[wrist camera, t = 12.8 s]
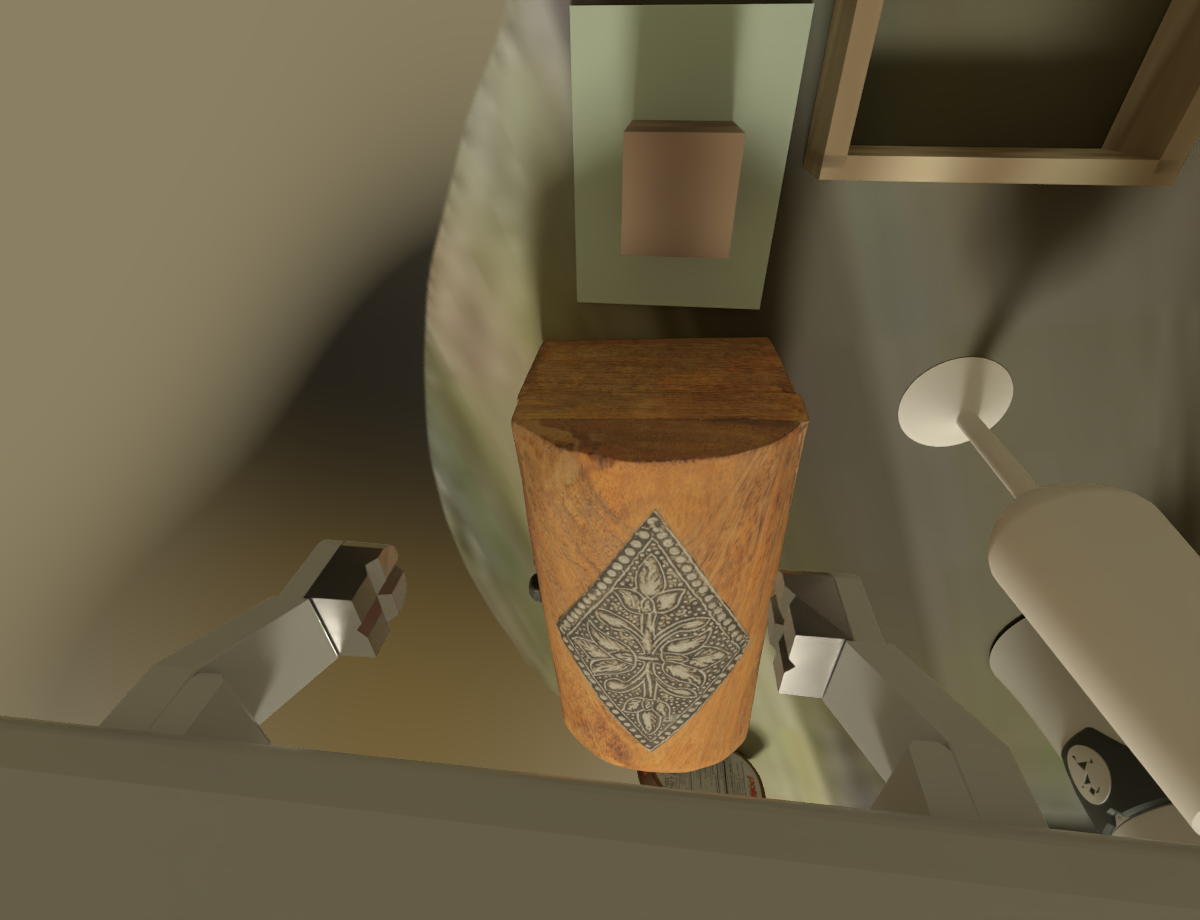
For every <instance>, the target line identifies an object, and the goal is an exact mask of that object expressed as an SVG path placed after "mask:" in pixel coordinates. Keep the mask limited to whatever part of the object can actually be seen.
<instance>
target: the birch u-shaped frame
mask: <svg viewBox="0 0 1200 920" xmlns="http://www.w3.org/2000/svg"><path fill="white" fill-rule="evenodd" d="M883 2H884V0H835V4H834V9H833V14H832V19H831V24H830V30H829V35H828V40H827V45H826V50H825V55H824V60H823V65H822V70H821V75H820V80H819V86H818V91H817V96H816V101H815V106H814V111H813V116H812V121H811V126H810V131H809V136H808V142H807V147H806V152H805V157H804V162H803V167H804V168H805V169H806V170H807V171H809V172H810V173H811V174H812V175H814V176H815V177H816V178H817V179H819V180H860V181H912V182H964V183H1016V184H1068V185H1120V186H1171V185H1172V183H1173V182H1174V180H1175V178H1176V176H1177V175H1178V173H1179V171H1180V169H1181V168H1182V166H1183V164H1184V162H1185V160H1186V159H1187V157H1188V155H1189V153H1190V152H1191V150H1192V148H1193V146H1194V144H1195V143H1196V141H1197V139H1198V137H1199V136H1200V0H1172V1H1171V3H1170V5H1169V7H1168V9H1167V11H1166V13H1165V16H1164V18H1163V20H1162V22H1161V24H1160V26H1159V28H1158V30H1157V32H1156V34H1155V37H1154V39H1153V41H1152V43H1151V45H1150V47H1149V49H1148V51H1147V53H1146V55H1145V58H1144V60H1143V62H1142V64H1141V66H1140V68H1139V70H1138V72H1137V74H1136V76H1135V79H1134V81H1133V83H1132V85H1131V87H1130V89H1129V91H1128V93H1127V95H1126V97H1125V100H1124V102H1123V104H1122V106H1121V108H1120V110H1119V112H1118V114H1117V116H1116V118H1115V121H1114V123H1113V125H1112V127H1111V129H1110V131H1109V133H1108V135H1107V137H1106V139H1105V141H1104V144H1103V146H1102V148H1101V149H1086V148H1013V147H940V146H867V145H850V141H851V137H852V133H853V129H854V124H855V120H856V116H857V112H858V108H859V103H860V99H861V95H862V91H863V87H864V82H865V78H866V74H867V70H868V65H869V61H870V57H871V53H872V49H873V44H874V40H875V36H876V32H877V27H878V23H879V19H880V15H881V11H882V6H883Z"/></svg>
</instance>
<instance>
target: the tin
mask: <svg viewBox="0 0 1200 920" xmlns="http://www.w3.org/2000/svg"><path fill="white" fill-rule="evenodd" d="M637 773H638V778H639V781H640V784H641V785H648V786H657V787H666V788H675V789H684V790H694V791H703V792H712V793H721V794H731V795H740V796H749V797H758V798H766V796H765V791H764V787H763V784H762V781H761V778H760V776H759V774H758V772H757V771H756V769H755V768H754V767H753V765H752V764H751V763H750V762H749V761H748V760H747V759H746V758H745V757H744V756H742V755H741V754H740V753H738V752H736V751H734V752H733V753H732V754H730V755H729V756H728V757H727V758H725V759H724V760H723V761H721V762H719V763H717V764H714V765H711V766H708V767H704V768H701V769H698V770H694V771H690V772H683V773H682V772H680V773H660V772H647V771H639V770H637Z"/></svg>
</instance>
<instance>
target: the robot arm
mask: <svg viewBox="0 0 1200 920" xmlns="http://www.w3.org/2000/svg"><path fill="white" fill-rule="evenodd" d="M398 558H399V557H398V554H397V552H396V549H395V547H394V546H391V545H385V544H374V543H363V542H352V541H337V540H324V541H322V542H320V543H319V544H318V545H317V546H316V547H315V549H314V550H313V551H312V553H311V554H310V555H309V557H308V558H307V559H306V561H305V562H304V563H303V565H302V566H301V567H300V568H299V570H298V571H297V573H296V574H295V575H294V576H293V578H292V579H291V580H290V582H289V583H288V584H287V586H286V587H285V588H284V589H283V591H282V592H281V593H280V595H279V596H271V597H269V598H268V599H266V600H264V601H262V602H261V603H259V604H257V605H255V606H254V607H252V608H250V609H249V610H247V611H245V612H243V613H242V614H240V615H238V616H237V617H235V618H233V619H231V620H230V621H228V622H226V623H225V624H223V625H221V626H219V627H218V628H216V629H214V630H212V631H211V632H209V633H207V634H206V635H204V636H202V637H200V638H199V639H197V640H195V641H193V642H192V643H190V644H188V645H187V646H185V647H183V648H181V649H180V650H178V651H176V652H175V653H173V654H171V655H169V656H168V657H166V658H164V659H163V660H161V661H159V662H157V663H156V664H154V665H152V666H151V668H150V669H149V670H148V671H147V672H146V673H145V674H144V675H143V676H142V678H141V679H140V680H139V681H138V682H137V683H136V684H135V686H134V687H133V688H132V689H131V690H130V691H129V692H128V693H127V695H126V696H125V697H124V698H123V699H122V700H121V701H120V703H119V704H118V705H117V706H116V707H115V708H114V709H113V711H112V712H111V713H110V714H109V715H108V716H107V717H106V719H105V720H104V721H103V722H102V723H101V724H100V725H99V726H92V725H83V724H73V723H65V722H55V721H46V720H37V719H28V718H18V717H10V716H0V920H1200V835H1198V834H1197V833H1196V832H1195V831H1194V830H1193V828H1192V827H1191V826H1190V825H1189V823H1188V822H1187V821H1186V819H1185V818H1184V817H1183V816H1182V814H1181V813H1180V812H1179V811H1178V809H1177V808H1176V807H1175V806H1174V804H1173V803H1172V802H1171V801H1170V799H1169V798H1168V797H1167V795H1166V794H1165V793H1164V792H1163V790H1162V789H1161V788H1160V787H1159V785H1158V784H1157V783H1156V782H1155V780H1154V779H1153V778H1152V776H1151V775H1150V774H1149V773H1148V771H1147V770H1146V769H1145V768H1144V766H1143V765H1142V764H1141V763H1140V761H1139V760H1138V759H1137V758H1136V756H1135V755H1134V754H1133V752H1132V751H1131V750H1130V749H1129V747H1128V746H1127V745H1126V744H1125V742H1124V741H1123V740H1122V739H1121V737H1120V736H1119V735H1118V734H1117V732H1116V731H1115V730H1114V728H1113V727H1112V726H1111V725H1110V723H1109V722H1108V721H1107V720H1106V718H1105V717H1104V716H1103V715H1102V713H1101V712H1100V711H1099V710H1098V708H1097V707H1096V706H1095V704H1094V703H1093V702H1092V701H1091V699H1090V698H1089V697H1088V696H1087V694H1086V693H1085V692H1084V691H1083V689H1082V688H1081V687H1080V685H1079V684H1078V683H1077V682H1076V680H1075V679H1074V678H1073V677H1072V675H1071V674H1070V673H1069V672H1068V670H1067V669H1066V668H1065V667H1064V665H1063V664H1062V663H1061V661H1060V660H1059V659H1058V658H1057V656H1056V655H1055V654H1054V653H1053V651H1052V650H1051V649H1050V648H1049V646H1048V645H1047V644H1046V643H1045V641H1044V640H1043V639H1042V637H1041V636H1040V635H1039V634H1038V632H1037V631H1036V630H1035V629H1034V627H1033V626H1032V625H1031V624H1030V622H1029V621H1028V620H1027V619H1026V618H1024V619H1022V620H1021V621H1019V622H1018V623H1016V624H1015V625H1013V626H1012V627H1011V628H1009V629H1008V630H1007V631H1006V632H1005V633H1004V634H1003V635H1002V636H1001V637H1000V638H999V639H998V641H997V642H996V643H995V645H994V647H993V649H992V651H991V654H990V667H991V670H992V672H993V673H994V675H995V676H996V677H997V678H998V679H999V680H1000V681H1001V682H1002V683H1003V684H1004V685H1005V686H1006V688H1007V689H1008V690H1009V691H1010V692H1011V693H1012V694H1013V695H1014V697H1015V698H1016V699H1017V700H1018V701H1019V702H1020V704H1021V705H1022V706H1023V707H1024V709H1025V710H1026V711H1027V712H1028V714H1029V715H1030V716H1031V718H1032V719H1033V720H1034V722H1035V723H1036V724H1037V726H1038V727H1039V728H1040V730H1041V731H1042V732H1043V734H1044V735H1045V737H1046V738H1047V739H1048V741H1049V742H1050V744H1051V745H1052V746H1053V748H1054V749H1055V751H1056V752H1057V754H1058V755H1059V756H1060V758H1061V759H1062V761H1063V762H1064V765H1065V768H1066V771H1067V773H1068V776H1069V778H1070V780H1071V783H1072V785H1073V787H1074V790H1075V792H1076V794H1077V796H1078V798H1079V800H1080V801H1081V803H1082V805H1083V807H1084V809H1085V810H1086V812H1087V814H1088V816H1089V817H1090V819H1091V821H1092V822H1093V824H1094V826H1095V827H1096V829H1097V831H1098V832H1099V834H1093V833H1083V832H1074V831H1065V830H1056V829H1049V828H1048V826H1047V823H1046V821H1045V819H1044V817H1043V815H1042V813H1041V811H1040V809H1039V807H1038V805H1037V803H1036V801H1035V799H1034V797H1033V795H1032V793H1031V791H1030V789H1029V787H1028V785H1027V783H1026V781H1025V779H1024V777H1023V775H1022V773H1021V771H1020V769H1019V767H1018V765H1017V763H1016V761H1015V759H1014V757H1013V755H1012V753H1011V751H1010V749H1009V747H1008V746H1007V745H1006V744H1005V743H1003V742H1002V741H1001V740H1000V739H999V738H998V737H997V736H996V735H994V734H993V733H992V732H991V731H990V730H989V729H988V728H987V727H985V726H984V725H983V724H982V723H981V722H980V721H979V720H978V719H976V718H975V717H974V716H973V715H972V714H971V713H970V712H969V711H967V710H966V709H965V708H964V707H963V706H962V705H961V704H960V703H958V702H957V701H956V700H955V699H954V698H953V697H952V696H951V695H949V694H948V693H947V692H946V691H945V690H944V689H943V688H942V687H940V686H939V685H938V684H937V683H936V682H935V681H934V680H933V679H931V678H930V677H929V676H928V675H927V674H926V673H925V672H924V671H922V670H921V669H920V668H919V667H918V666H917V665H916V664H914V663H913V662H912V661H911V660H910V659H909V658H908V657H907V656H905V655H904V654H903V653H902V652H901V651H900V650H899V649H898V648H896V647H895V646H894V645H893V644H885V643H884V640H883V637H882V635H881V632H880V629H879V627H878V624H877V621H876V619H875V616H874V613H873V611H872V608H871V605H870V603H869V600H868V597H867V595H866V592H865V589H864V587H863V584H862V581H861V579H860V578H859V577H858V576H857V575H856V574H840V573H830V574H829V573H824V572H806V571H788V570H779V571H778V572H777V574H776V577H775V581H774V585H775V591H776V594H775V595H773V596H772V597H771V598H770V602H769V607H768V620H767V623H768V634H769V641H770V644H771V645H772V646H773V647H774V648H775V649H776V654H775V658H774V661H773V665H774V671H775V676H776V682H777V688H778V693H782V694H791V695H800V696H808V697H817V698H823V701H824V703H825V704H826V705H827V707H828V708H829V709H830V710H831V712H832V713H833V714H834V716H835V717H836V718H837V720H838V721H839V722H840V723H841V725H842V726H843V727H844V729H845V730H846V731H847V733H848V734H849V735H850V736H851V738H852V739H853V740H854V742H855V743H856V744H857V746H858V747H859V748H860V749H861V751H862V752H863V753H864V755H865V756H866V757H867V759H868V760H869V761H870V762H871V764H872V765H873V766H874V768H875V769H876V770H877V772H878V773H879V774H880V775H881V777H882V778H883V779H884V781H885V782H886V784H885V785H884V787H883V789H882V790H881V792H880V793H879V795H878V797H877V798H876V800H875V801H874V803H873V805H872V806H871V808H870V809H861V808H851V807H842V806H833V805H823V804H814V803H805V802H796V801H786V800H777V799H768V798H758V797H749V796H740V795H731V794H721V793H712V792H703V791H694V790H684V789H675V788H666V787H657V786H648V785H637V784H629V783H619V782H610V781H602V780H591V779H583V778H574V777H565V776H564V777H563V776H556V775H546V774H537V773H528V772H518V771H508V770H500V769H490V768H481V767H471V766H462V765H452V764H443V763H433V762H425V761H415V760H406V759H397V758H388V757H379V756H369V755H360V754H351V753H341V752H332V751H323V750H313V749H304V748H295V747H285V746H277V745H271V741H270V739H269V738H268V737H267V735H266V734H265V733H264V732H263V730H262V729H261V727H260V726H259V725H260V724H261V723H262V722H263V721H264V720H266V719H267V718H268V717H269V716H270V715H271V714H273V713H274V712H275V711H276V710H277V709H278V708H279V707H281V706H282V705H283V704H284V703H286V702H287V701H288V700H289V699H290V698H291V697H293V696H294V695H295V694H296V693H297V692H298V691H300V690H301V689H302V688H303V687H304V686H305V685H307V684H308V683H309V682H310V681H311V680H312V679H314V678H315V677H316V676H317V675H318V674H319V673H321V672H322V671H323V670H324V669H325V668H326V667H328V666H329V665H330V664H331V663H332V662H333V661H335V660H336V659H337V658H338V655H344V656H360V657H361V656H362V657H377V655H378V653H379V651H380V649H381V647H382V645H383V643H384V641H385V639H386V637H387V636H388V633H389V632H390V630H389V626H388V623H387V622H388V621H389V620H391V619H392V618H393V617H395V616H396V615H397V614H399V612H400V610H401V608H402V606H403V603H404V600H405V595H406V590H407V588H406V578H405V575H404V572H403V571H402V570H401V569H400V568H399V567H397V566H396V565H395V563H396V561H397V559H398Z"/></svg>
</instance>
